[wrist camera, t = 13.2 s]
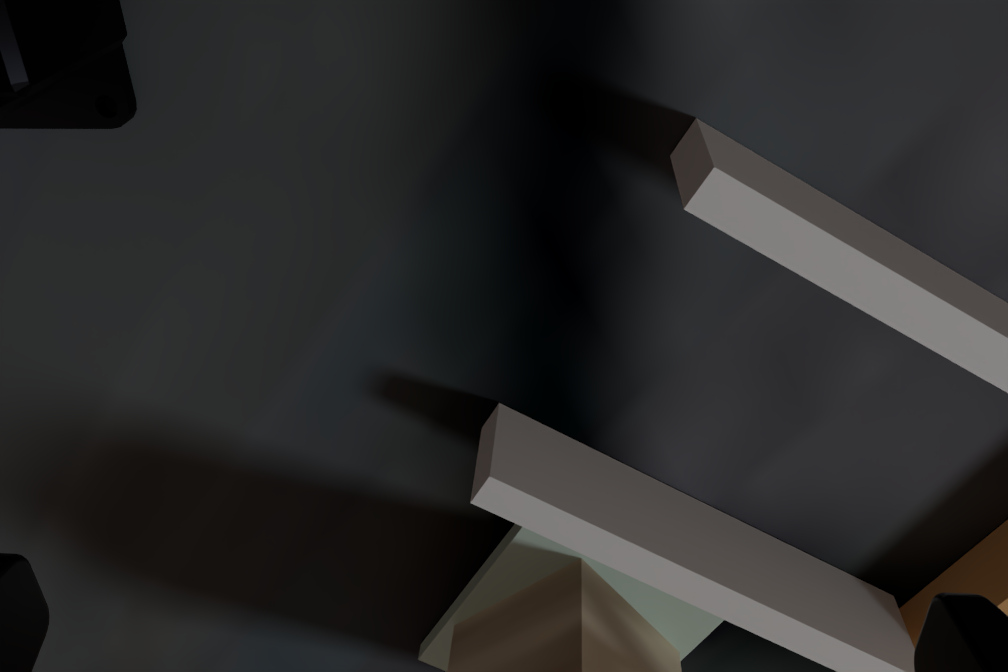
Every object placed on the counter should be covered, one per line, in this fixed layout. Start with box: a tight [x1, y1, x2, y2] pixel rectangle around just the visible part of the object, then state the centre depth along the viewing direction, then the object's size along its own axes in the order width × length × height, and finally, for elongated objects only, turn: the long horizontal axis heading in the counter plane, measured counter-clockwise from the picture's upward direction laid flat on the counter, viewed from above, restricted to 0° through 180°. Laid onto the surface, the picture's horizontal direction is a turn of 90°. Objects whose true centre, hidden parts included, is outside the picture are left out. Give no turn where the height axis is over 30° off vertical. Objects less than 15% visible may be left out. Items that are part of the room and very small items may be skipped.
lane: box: [470, 118, 1008, 672], centre depth 22 cm, size 14×10×3 cm
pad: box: [418, 524, 724, 671], centre depth 28 cm, size 7×7×1 cm
